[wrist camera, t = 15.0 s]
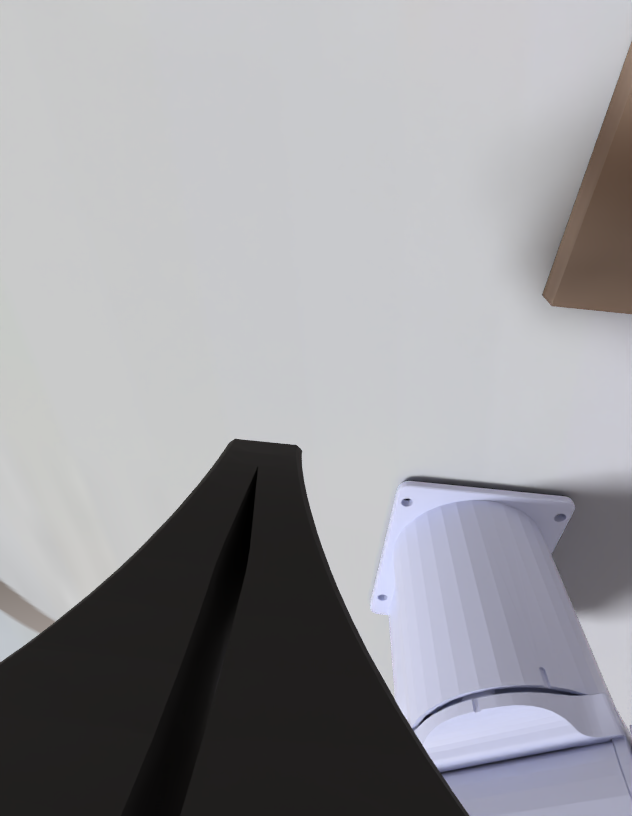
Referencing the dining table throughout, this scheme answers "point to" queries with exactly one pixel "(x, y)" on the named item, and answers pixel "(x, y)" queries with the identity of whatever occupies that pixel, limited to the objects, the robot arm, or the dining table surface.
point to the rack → (601, 219)
